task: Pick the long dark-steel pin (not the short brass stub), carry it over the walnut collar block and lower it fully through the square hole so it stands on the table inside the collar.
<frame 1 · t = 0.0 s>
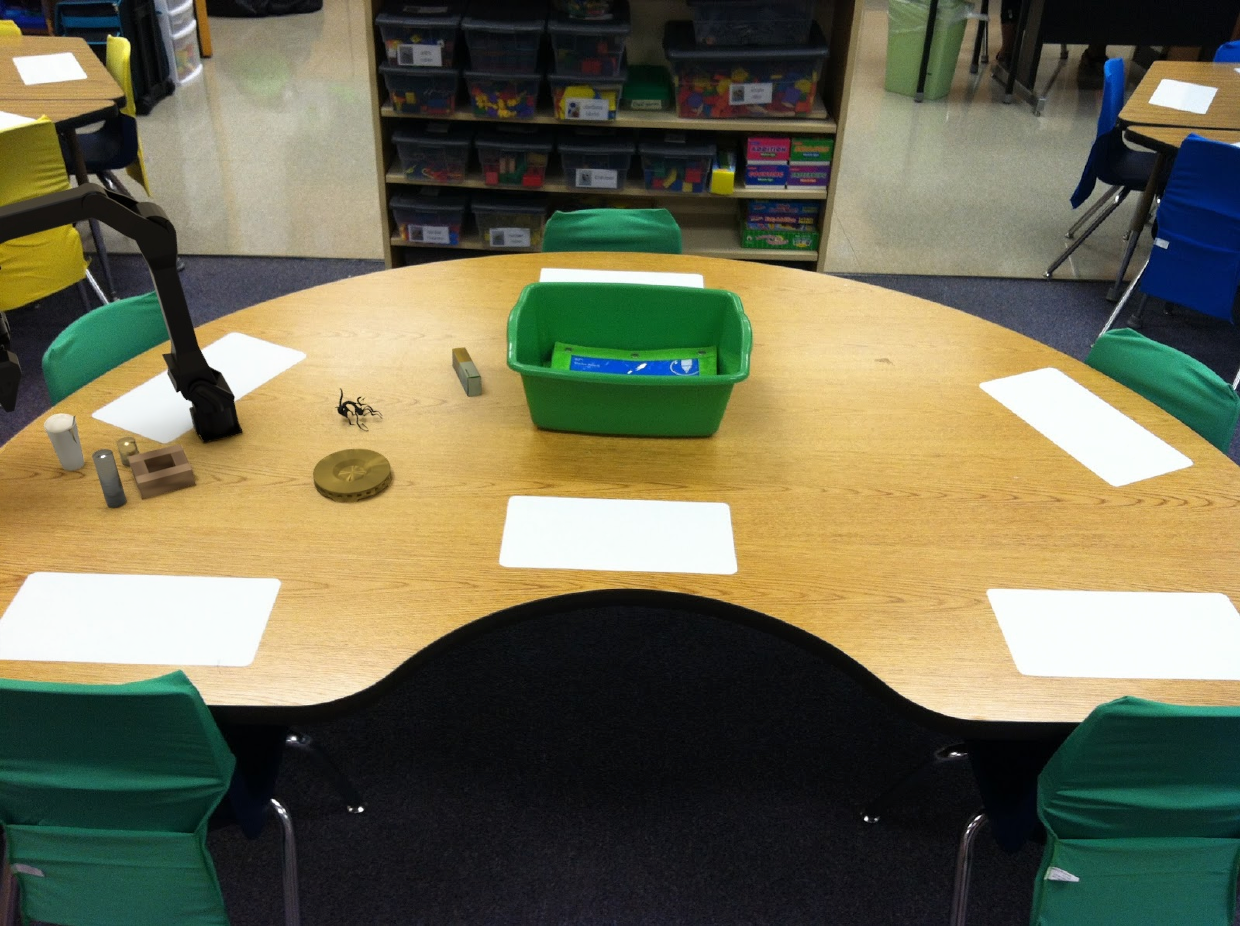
hand: (6, 396, 155), 15 cm above the table, fingers open, 9 cm apart
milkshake: (76, 466, 166), on the table
compass: (353, 482, 167), on the table
short pin: (131, 461, 168), on the table
medication box: (467, 381, 193), on the table
collar: (163, 478, 165), on the table
creature: (361, 421, 181), on the table
long pin: (116, 502, 159), on the table
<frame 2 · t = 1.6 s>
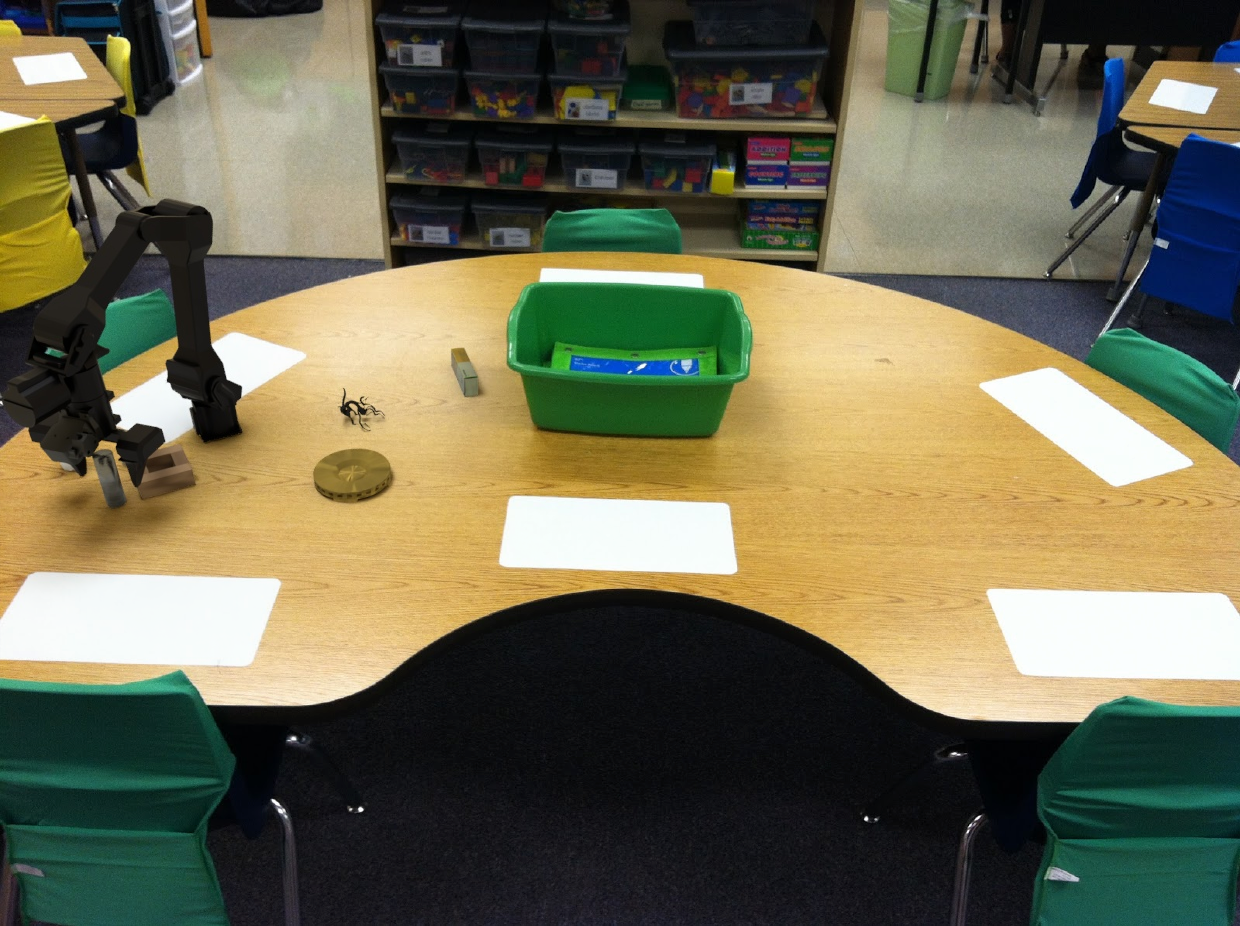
hand: (110, 480, 157), 4 cm above the table, fingers open, 9 cm apart
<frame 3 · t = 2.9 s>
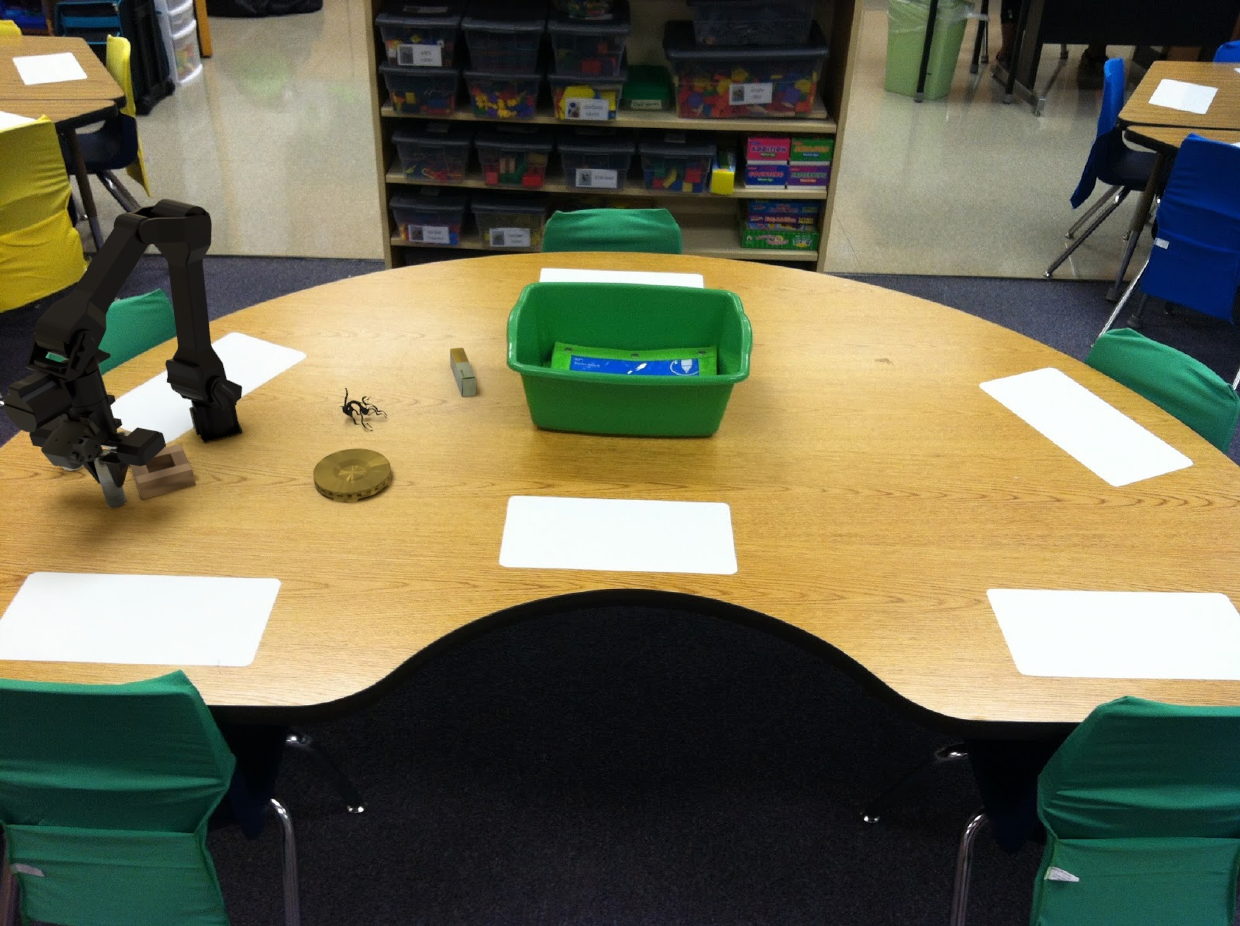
hand: (111, 484, 157), 3 cm above the table, fingers closed on long pin, 3 cm apart
long pin: (116, 502, 159), on the table, touching gripper
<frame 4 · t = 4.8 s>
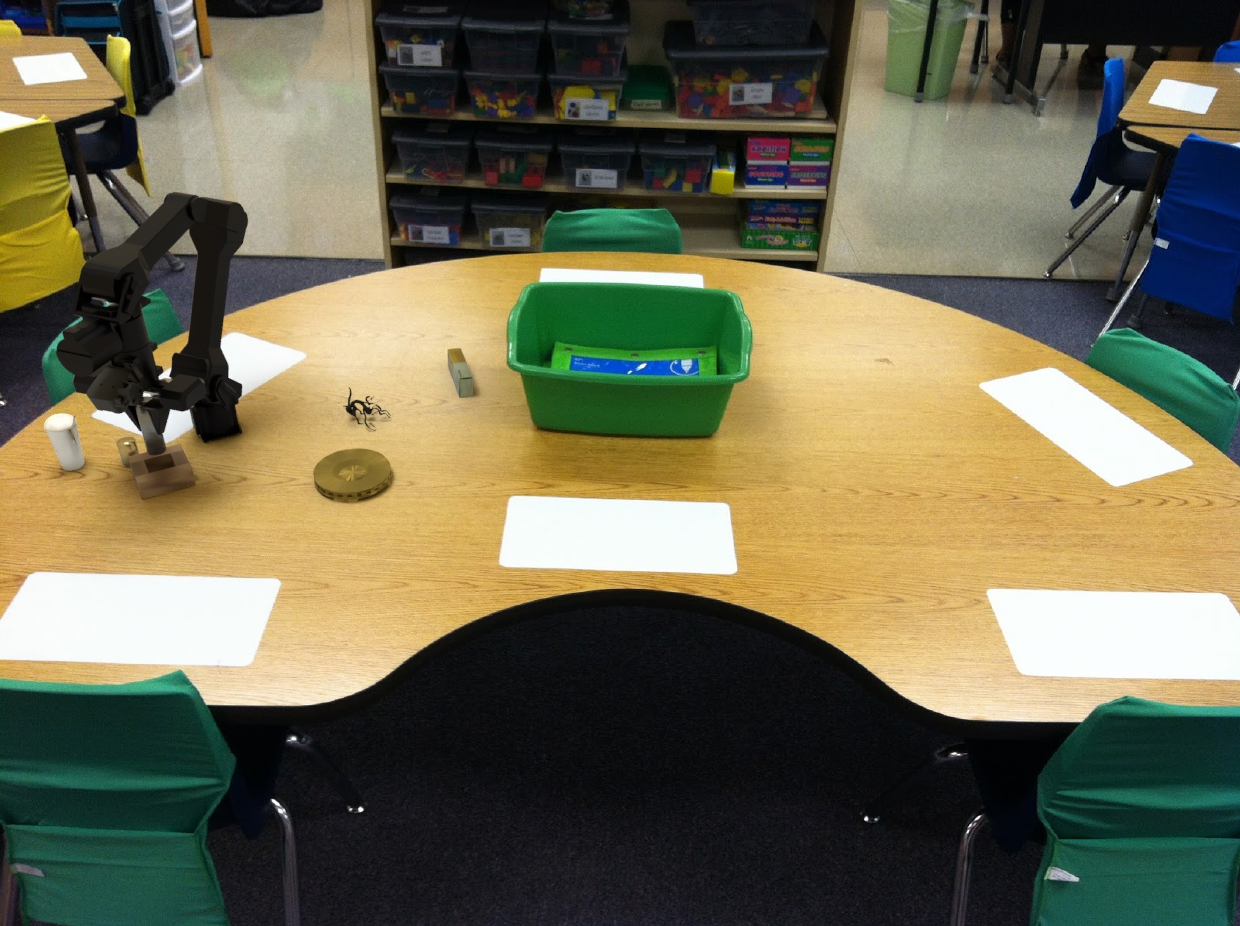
hand: (152, 432, 160), 9 cm above the table, fingers closed on long pin, 3 cm apart
long pin: (156, 450, 162), point 5 cm above the table, touching gripper
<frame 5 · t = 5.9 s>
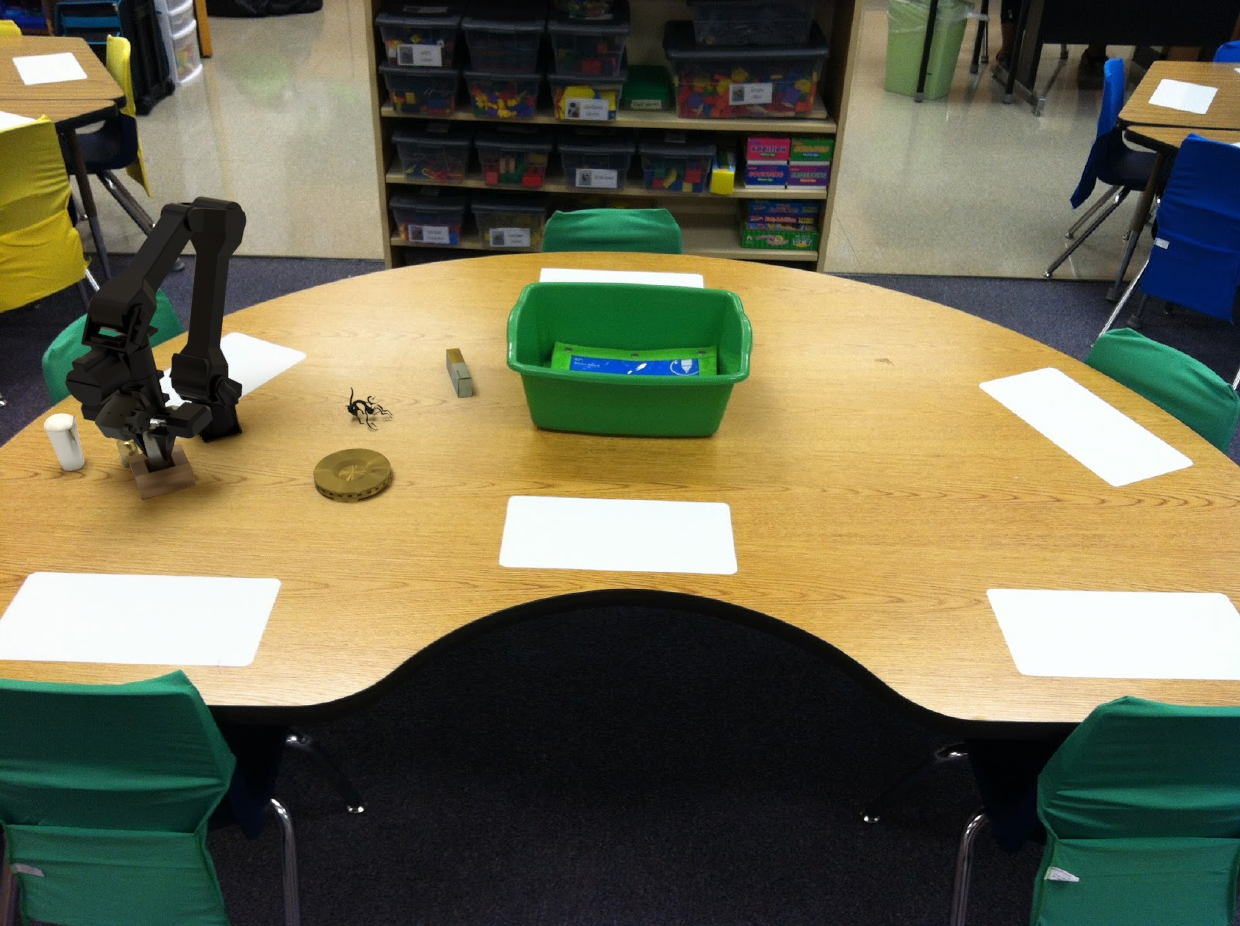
hand: (158, 457, 162), 4 cm above the table, fingers closed on long pin, 3 cm apart
long pin: (163, 475, 164), point 1 cm above the table, touching gripper
when the fingers open (4 cm above the table, at t = 6.6 s): long pin stays where it is, resting in collar.
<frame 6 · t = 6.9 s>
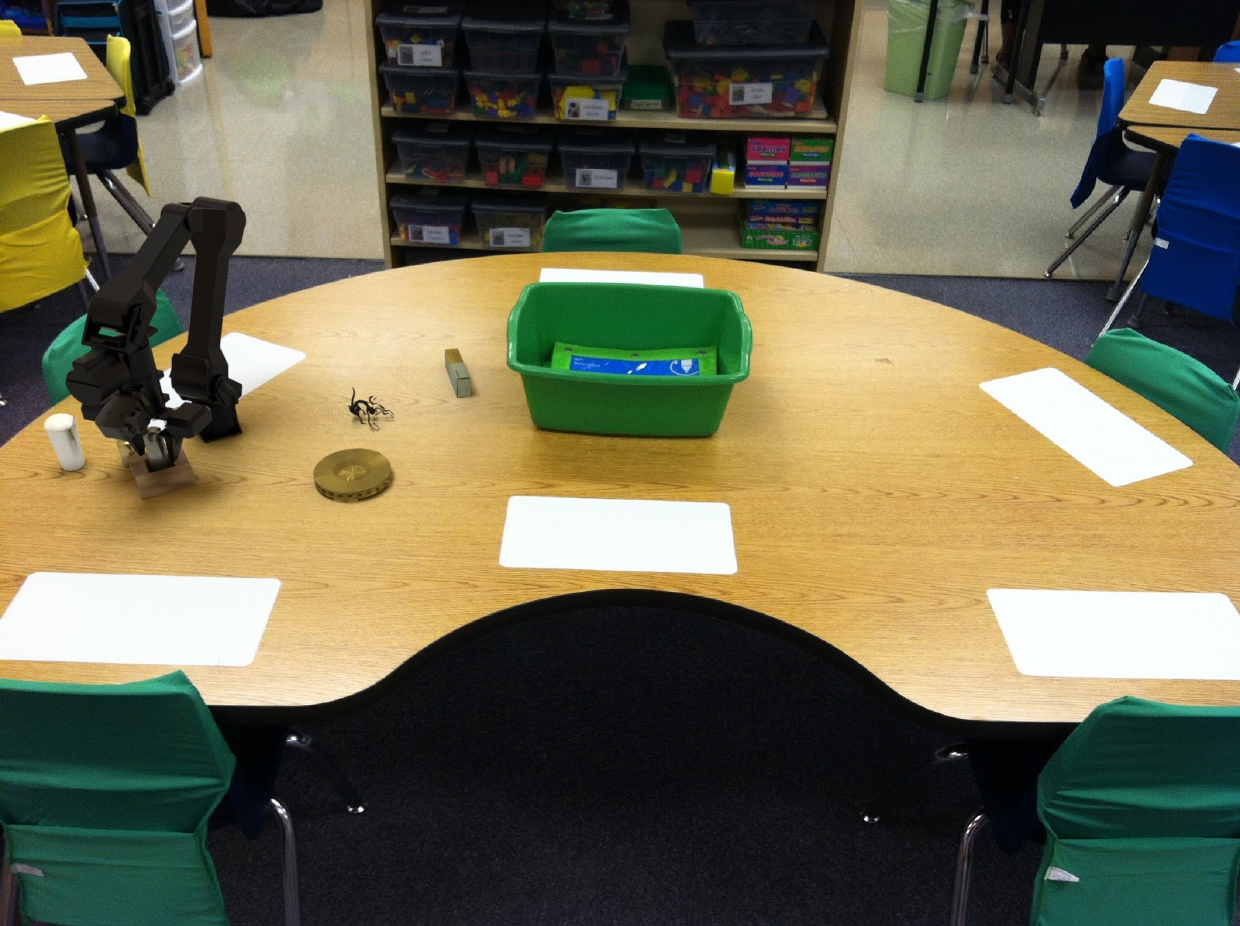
hand: (158, 457, 162), 4 cm above the table, fingers open, 5 cm apart
long pin: (163, 478, 165), resting in collar
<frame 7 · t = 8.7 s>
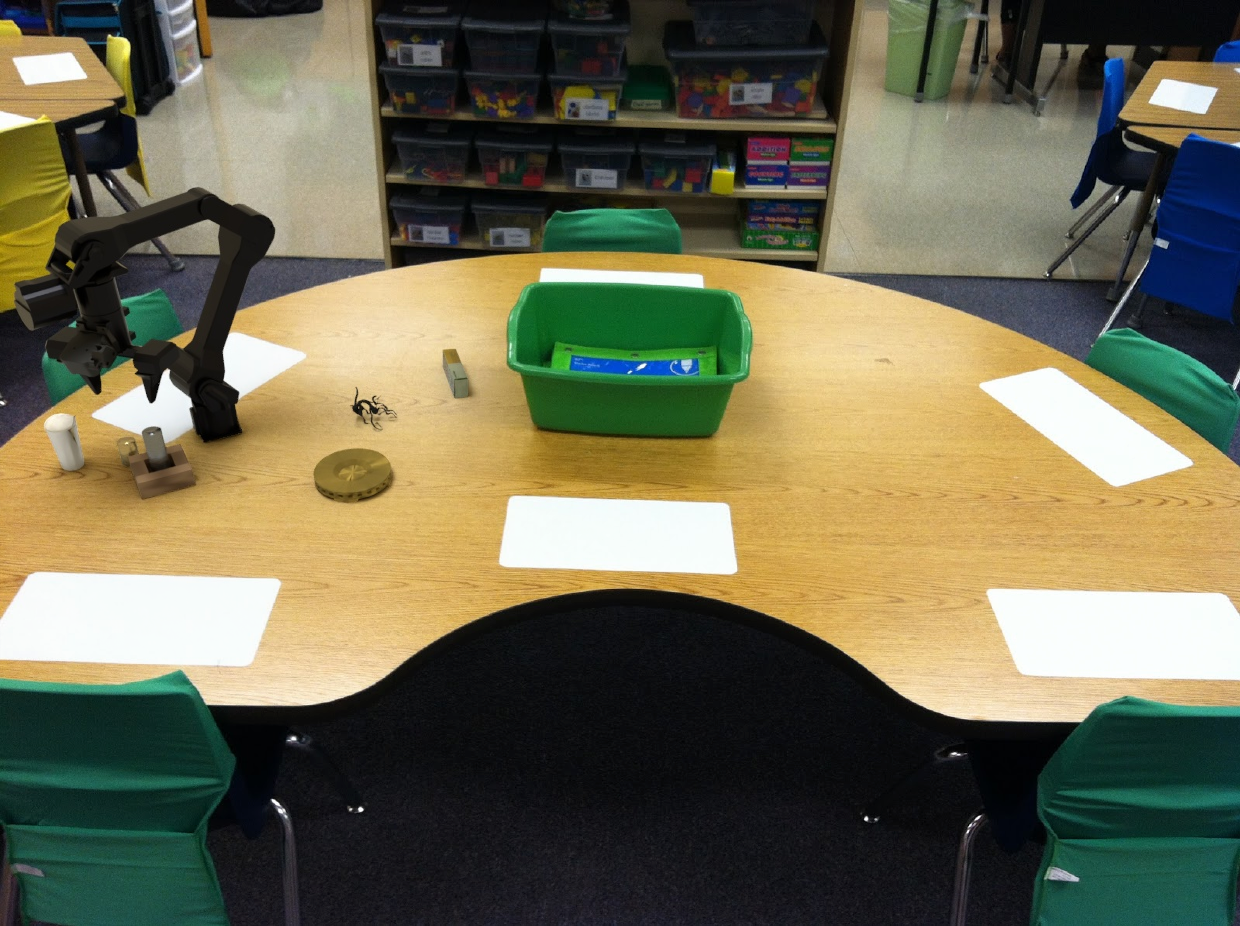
hand: (125, 397, 161), 12 cm above the table, fingers open, 9 cm apart
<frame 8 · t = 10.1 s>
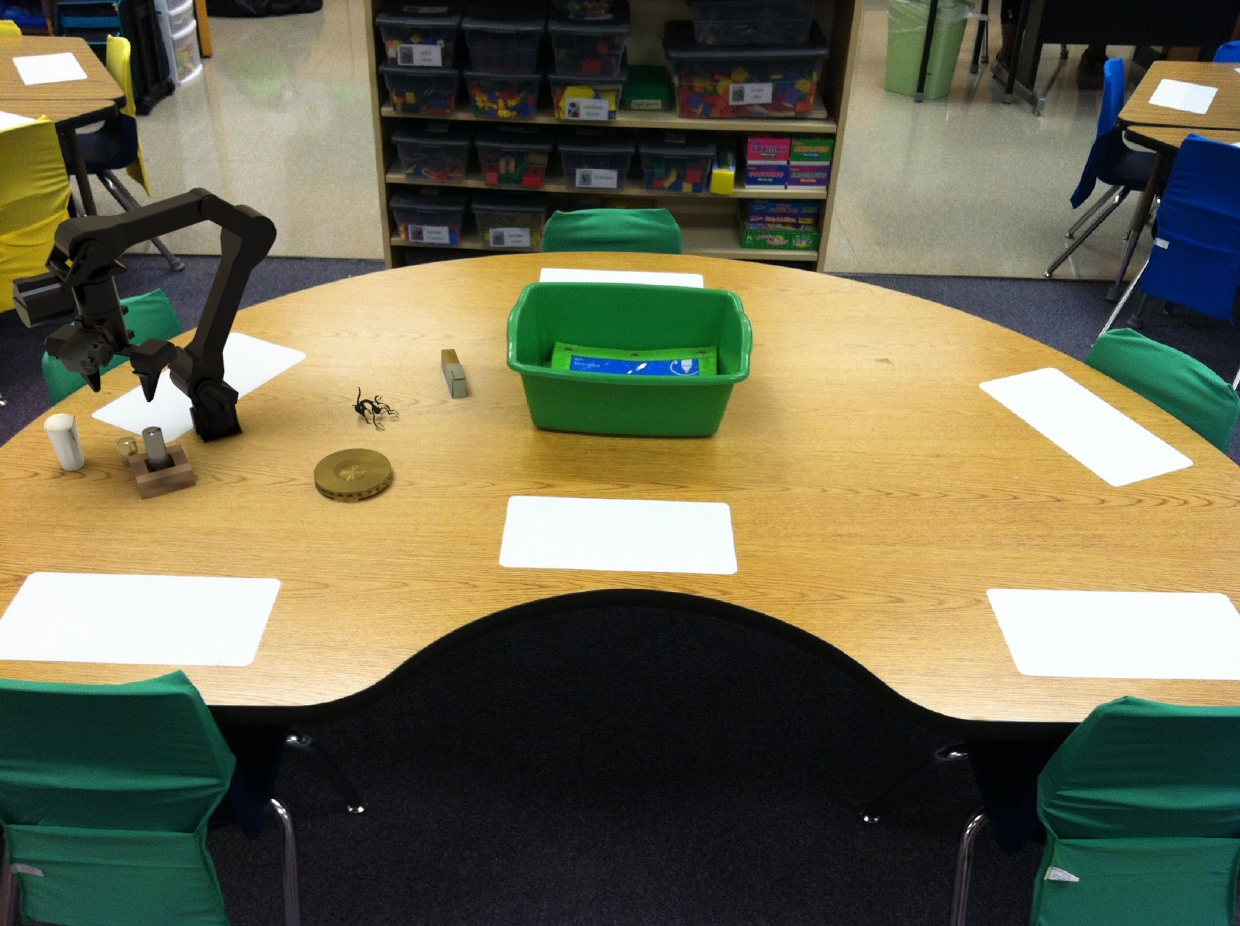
hand: (124, 396, 162), 12 cm above the table, fingers open, 9 cm apart
at the end: long pin 0.0 cm off-centre on the collar, point 0.0 cm above the collar's base; long pin tilted 0°; short pin moved 0.0 cm from its start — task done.
